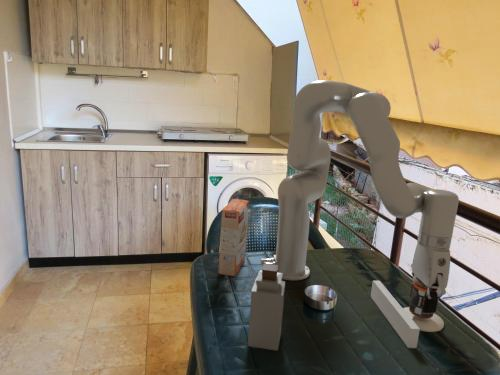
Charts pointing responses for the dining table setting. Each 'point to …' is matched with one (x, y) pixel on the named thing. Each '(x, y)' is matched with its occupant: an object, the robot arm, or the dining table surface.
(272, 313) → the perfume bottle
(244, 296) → the dining table surface
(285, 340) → the dining table surface
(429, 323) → the resting pad
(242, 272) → the dining table surface
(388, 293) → the low wall
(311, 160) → the robot arm
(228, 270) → the cracker box
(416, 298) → the supplement bottle
